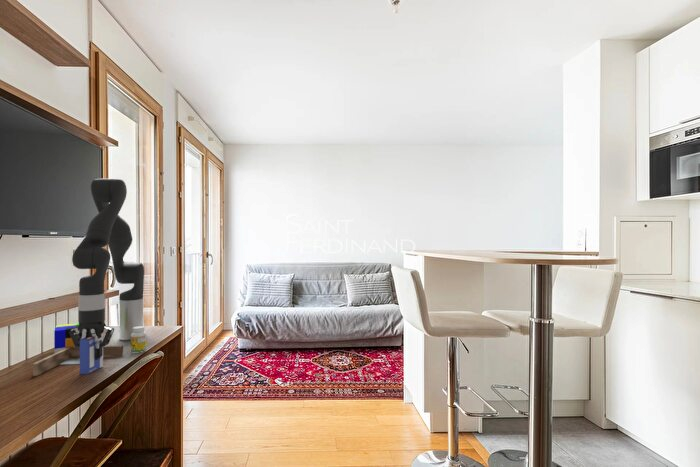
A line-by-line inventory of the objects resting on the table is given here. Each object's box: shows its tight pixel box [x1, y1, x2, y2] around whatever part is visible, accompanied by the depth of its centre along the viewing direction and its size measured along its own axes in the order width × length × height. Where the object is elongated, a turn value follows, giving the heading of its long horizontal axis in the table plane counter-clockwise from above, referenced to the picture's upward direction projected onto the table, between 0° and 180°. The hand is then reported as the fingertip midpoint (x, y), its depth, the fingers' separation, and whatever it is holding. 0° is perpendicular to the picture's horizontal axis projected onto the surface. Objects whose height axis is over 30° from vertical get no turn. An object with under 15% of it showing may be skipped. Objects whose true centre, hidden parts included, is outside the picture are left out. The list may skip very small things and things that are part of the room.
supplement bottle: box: [130, 325, 148, 354], centre depth 155 cm, size 5×5×10 cm
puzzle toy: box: [53, 322, 82, 354], centre depth 154 cm, size 10×10×10 cm
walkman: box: [79, 333, 104, 375], centre depth 133 cm, size 8×3×12 cm, turn 177°
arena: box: [32, 345, 124, 377], centre depth 139 cm, size 19×19×4 cm
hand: (91, 358), depth 133 cm, fingers open, 3 cm apart
